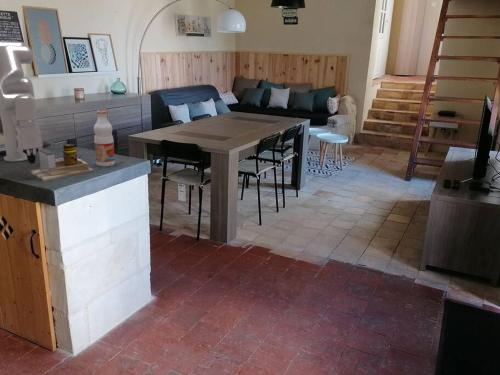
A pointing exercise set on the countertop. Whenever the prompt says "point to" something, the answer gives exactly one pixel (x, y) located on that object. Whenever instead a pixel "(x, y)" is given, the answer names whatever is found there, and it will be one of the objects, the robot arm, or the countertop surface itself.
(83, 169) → the wooden tray
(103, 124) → the fruit juice
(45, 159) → the grey flat block
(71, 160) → the condiment
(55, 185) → the countertop surface
